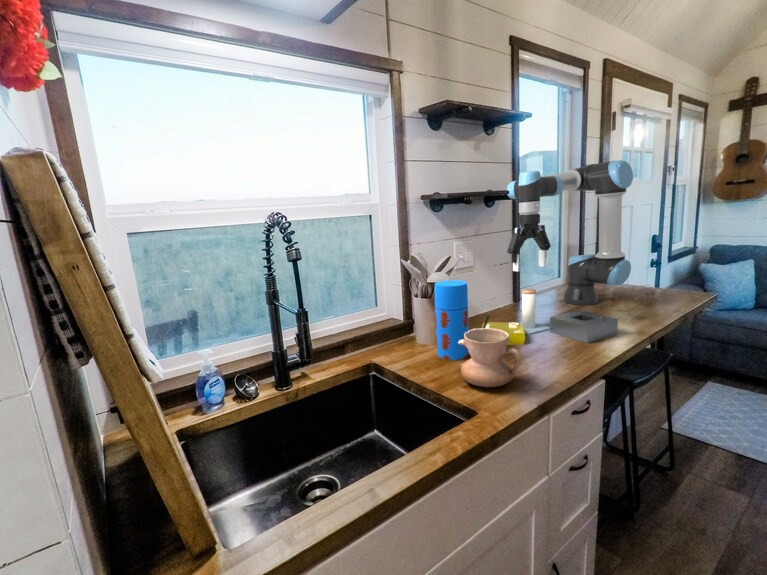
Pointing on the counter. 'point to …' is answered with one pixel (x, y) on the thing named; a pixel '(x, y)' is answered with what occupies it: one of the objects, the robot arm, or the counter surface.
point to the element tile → (510, 331)
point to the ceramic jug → (488, 358)
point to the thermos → (451, 318)
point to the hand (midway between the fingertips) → (529, 268)
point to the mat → (536, 329)
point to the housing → (583, 326)
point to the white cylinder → (528, 308)
